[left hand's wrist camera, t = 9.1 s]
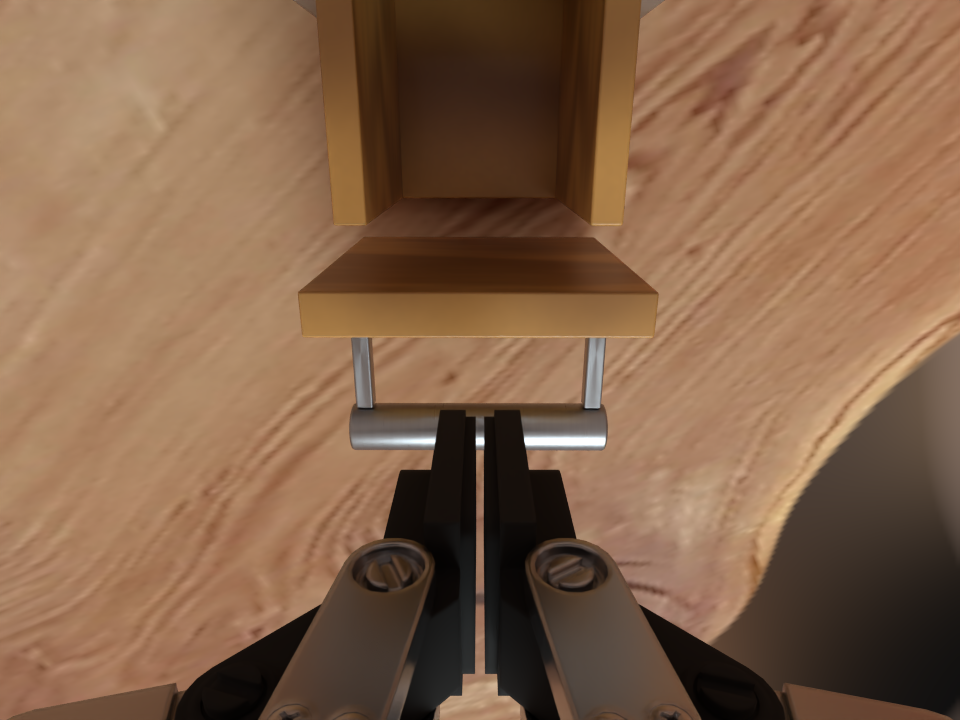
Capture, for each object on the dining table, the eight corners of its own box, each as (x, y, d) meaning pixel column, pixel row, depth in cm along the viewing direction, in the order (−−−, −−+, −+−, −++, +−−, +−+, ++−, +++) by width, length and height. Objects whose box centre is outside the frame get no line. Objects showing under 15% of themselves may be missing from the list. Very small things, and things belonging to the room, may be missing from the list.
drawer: (583, 401, 25) (633, 529, 17) (373, 401, 25) (321, 529, 17) (637, -391, 17) (789, -905, 9) (322, -391, 17) (169, -905, 9)
